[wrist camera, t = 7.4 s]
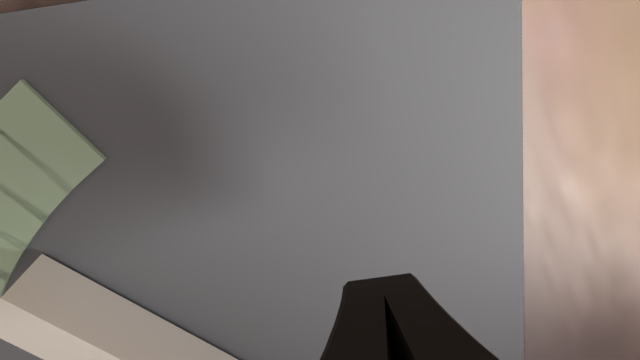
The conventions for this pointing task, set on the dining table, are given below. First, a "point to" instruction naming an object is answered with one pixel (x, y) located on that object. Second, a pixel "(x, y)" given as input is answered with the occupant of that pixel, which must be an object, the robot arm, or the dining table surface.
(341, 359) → the robot arm
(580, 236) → the dining table surface
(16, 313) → the cream bar
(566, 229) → the dining table surface
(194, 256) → the board
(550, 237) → the dining table surface
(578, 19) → the dining table surface
